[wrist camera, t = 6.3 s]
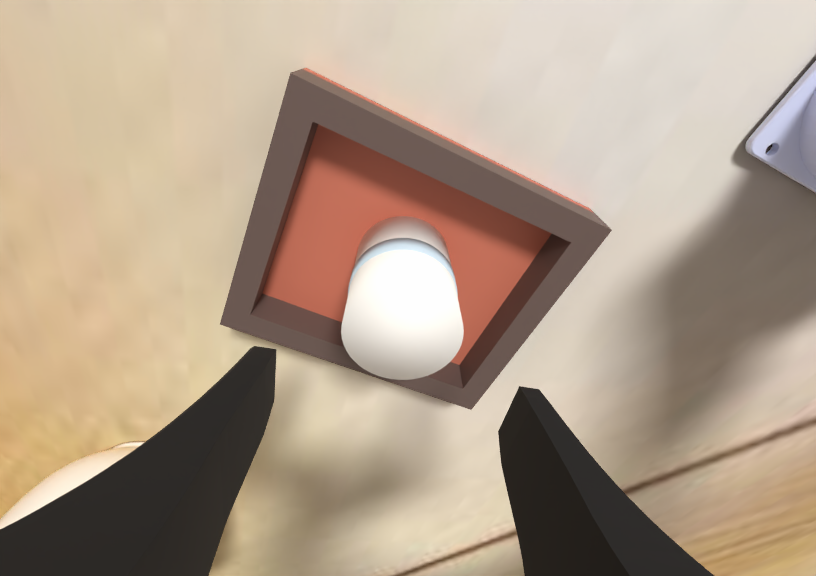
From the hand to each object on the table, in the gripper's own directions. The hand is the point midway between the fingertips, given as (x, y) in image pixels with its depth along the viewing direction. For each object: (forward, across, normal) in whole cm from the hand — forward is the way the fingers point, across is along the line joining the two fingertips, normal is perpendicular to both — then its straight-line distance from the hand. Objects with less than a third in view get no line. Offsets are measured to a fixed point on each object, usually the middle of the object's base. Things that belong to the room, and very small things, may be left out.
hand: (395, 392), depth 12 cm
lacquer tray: (+10, 0, 0) cm, 10 cm away
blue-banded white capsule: (+9, 0, 0) cm, 9 cm away
